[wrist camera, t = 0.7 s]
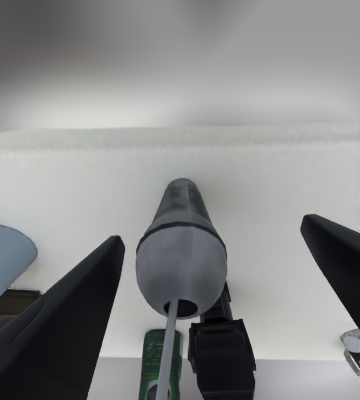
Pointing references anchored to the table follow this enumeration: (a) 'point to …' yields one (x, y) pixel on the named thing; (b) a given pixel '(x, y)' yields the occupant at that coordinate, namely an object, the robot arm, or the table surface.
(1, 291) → the spray bottle
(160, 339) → the coffee jar
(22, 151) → the table surface
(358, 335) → the mug
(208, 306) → the beverage cup
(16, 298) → the diary
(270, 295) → the table surface
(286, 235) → the table surface
